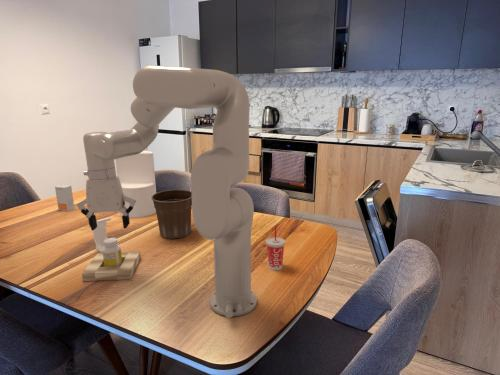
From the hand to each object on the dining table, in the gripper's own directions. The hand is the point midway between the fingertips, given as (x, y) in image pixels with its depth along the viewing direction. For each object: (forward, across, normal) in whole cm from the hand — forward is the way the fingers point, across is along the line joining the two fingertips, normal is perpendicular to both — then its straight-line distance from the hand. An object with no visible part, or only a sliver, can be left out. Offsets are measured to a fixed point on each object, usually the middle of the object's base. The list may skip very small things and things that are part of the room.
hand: (110, 227), depth 109 cm
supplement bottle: (+14, -1, 0) cm, 14 cm away
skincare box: (+12, -42, +64) cm, 77 cm away
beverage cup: (+16, +51, -2) cm, 53 cm away
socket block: (+14, -1, +1) cm, 14 cm away
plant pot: (+14, +15, +29) cm, 35 cm away
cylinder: (+13, -6, +58) cm, 59 cm away
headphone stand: (+14, -9, +17) cm, 24 cm away
